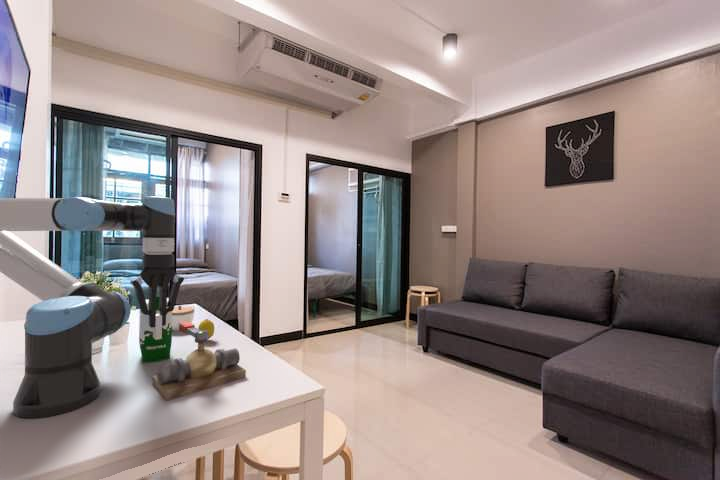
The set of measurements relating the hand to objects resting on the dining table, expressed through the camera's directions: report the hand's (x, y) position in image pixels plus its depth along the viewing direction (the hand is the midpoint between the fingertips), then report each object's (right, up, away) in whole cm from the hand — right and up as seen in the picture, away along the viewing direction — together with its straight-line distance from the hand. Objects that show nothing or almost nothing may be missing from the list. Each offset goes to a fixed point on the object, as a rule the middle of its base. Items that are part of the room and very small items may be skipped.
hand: (157, 338), depth 94 cm
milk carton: (-9, -10, +13) cm, 19 cm away
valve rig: (+13, -11, -2) cm, 17 cm away
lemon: (0, -10, +30) cm, 32 cm away
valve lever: (+9, 0, +2) cm, 9 cm away
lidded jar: (-18, -9, +44) cm, 49 cm away
